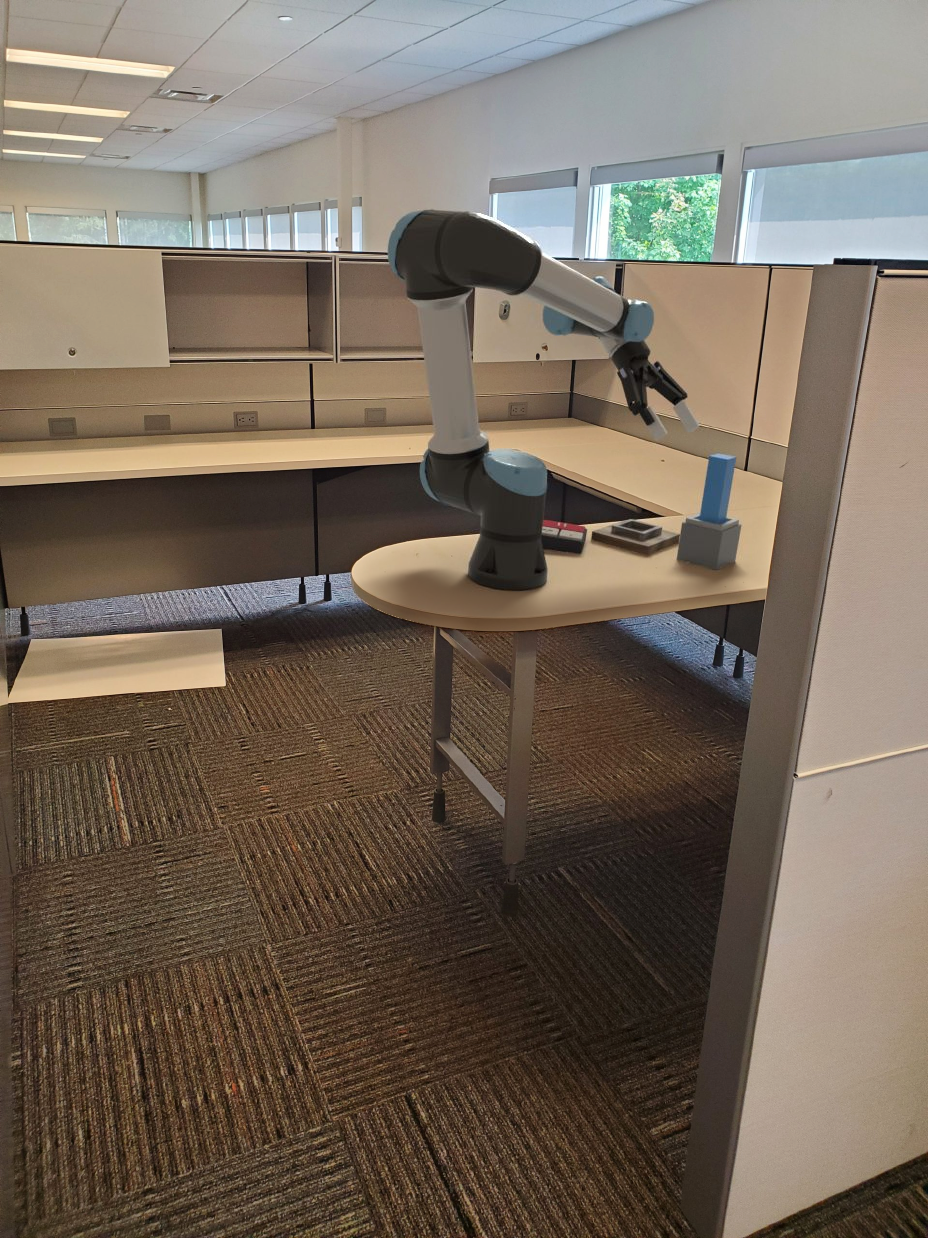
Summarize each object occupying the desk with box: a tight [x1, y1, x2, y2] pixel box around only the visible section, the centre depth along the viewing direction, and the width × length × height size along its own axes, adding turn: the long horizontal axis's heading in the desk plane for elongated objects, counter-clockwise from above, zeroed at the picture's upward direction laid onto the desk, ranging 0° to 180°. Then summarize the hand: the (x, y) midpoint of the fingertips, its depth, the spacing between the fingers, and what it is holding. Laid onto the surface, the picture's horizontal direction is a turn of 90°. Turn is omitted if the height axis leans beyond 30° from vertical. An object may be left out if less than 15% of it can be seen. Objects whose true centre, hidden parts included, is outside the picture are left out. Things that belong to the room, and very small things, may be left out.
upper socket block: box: [676, 512, 742, 571], centre depth 195 cm, size 9×9×9 cm
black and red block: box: [541, 519, 588, 555], centre depth 201 cm, size 11×4×15 cm
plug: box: [699, 453, 737, 525], centre depth 191 cm, size 4×4×14 cm
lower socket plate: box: [590, 518, 680, 556], centre depth 206 cm, size 14×14×4 cm
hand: (678, 433), depth 191 cm, fingers open, 13 cm apart
